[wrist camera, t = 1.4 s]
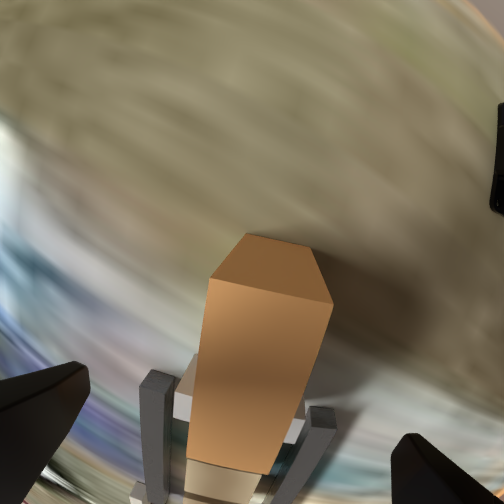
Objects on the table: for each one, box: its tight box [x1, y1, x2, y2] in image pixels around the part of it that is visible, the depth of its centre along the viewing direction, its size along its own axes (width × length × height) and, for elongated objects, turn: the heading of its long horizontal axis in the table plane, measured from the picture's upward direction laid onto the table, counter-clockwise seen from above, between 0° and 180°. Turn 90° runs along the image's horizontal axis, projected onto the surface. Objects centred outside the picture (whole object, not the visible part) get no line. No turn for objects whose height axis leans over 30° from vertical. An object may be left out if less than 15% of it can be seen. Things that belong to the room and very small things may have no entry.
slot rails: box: [139, 369, 337, 504], centre depth 17 cm, size 11×15×2 cm
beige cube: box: [184, 458, 262, 504], centre depth 15 cm, size 4×4×4 cm
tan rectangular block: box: [173, 234, 334, 475], centre depth 11 cm, size 6×9×7 cm
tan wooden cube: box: [183, 491, 239, 504], centre depth 16 cm, size 4×4×4 cm
